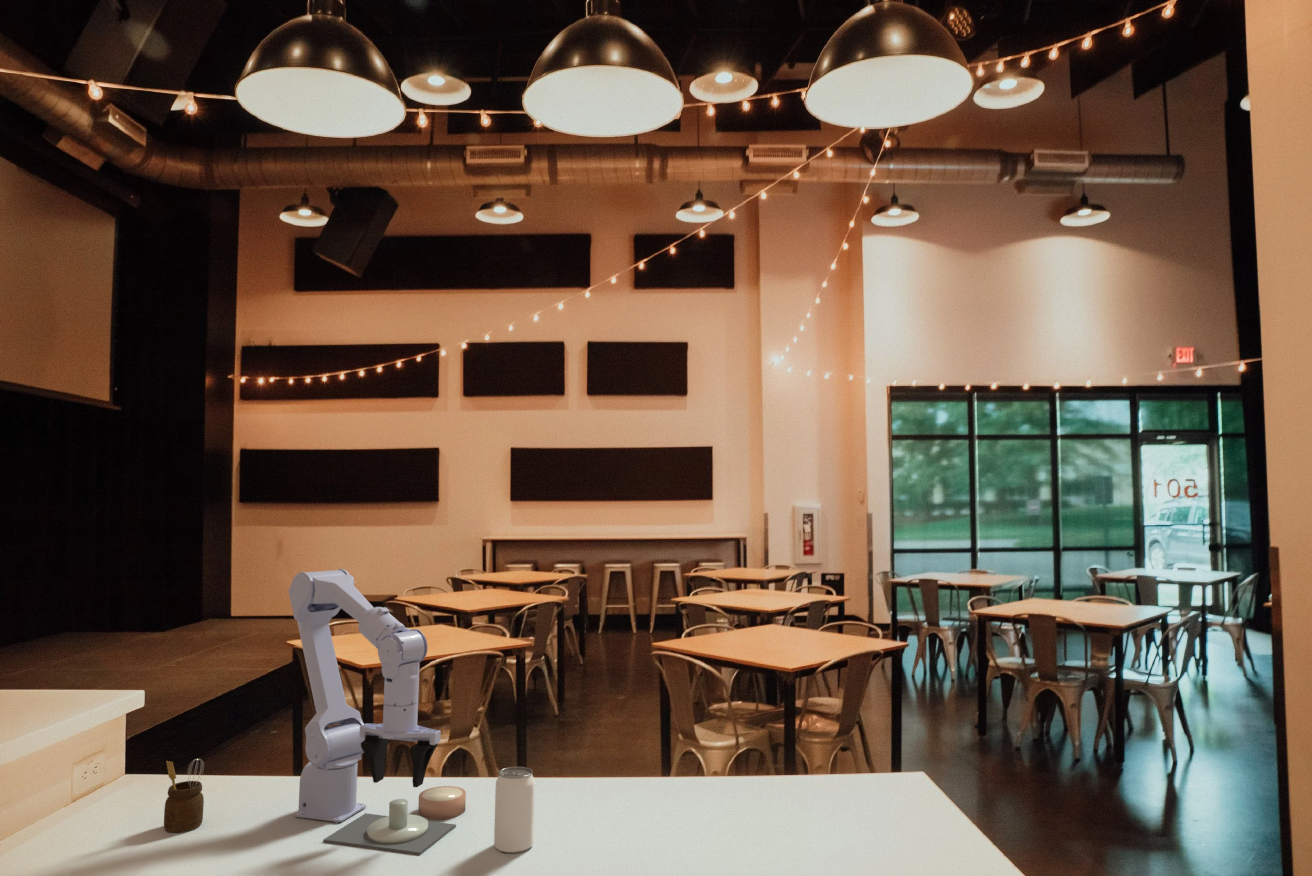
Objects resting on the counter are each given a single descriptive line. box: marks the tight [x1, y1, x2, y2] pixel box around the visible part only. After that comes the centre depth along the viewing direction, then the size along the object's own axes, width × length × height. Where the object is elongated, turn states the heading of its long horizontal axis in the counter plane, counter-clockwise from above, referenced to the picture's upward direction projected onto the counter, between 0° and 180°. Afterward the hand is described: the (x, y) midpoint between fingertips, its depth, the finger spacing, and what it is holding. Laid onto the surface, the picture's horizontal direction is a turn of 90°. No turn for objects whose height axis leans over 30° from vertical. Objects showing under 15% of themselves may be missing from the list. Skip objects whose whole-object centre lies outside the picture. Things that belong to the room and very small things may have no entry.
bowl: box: [417, 785, 467, 821], centre depth 153 cm, size 8×8×3 cm
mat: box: [322, 813, 457, 856], centre depth 142 cm, size 18×12×1 cm, turn 76°
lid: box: [367, 798, 429, 844], centre depth 143 cm, size 10×10×5 cm
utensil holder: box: [163, 758, 205, 834], centre depth 145 cm, size 6×6×12 cm
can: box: [493, 766, 536, 854], centre depth 139 cm, size 6×6×12 cm
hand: (398, 782), depth 143 cm, fingers open, 7 cm apart
